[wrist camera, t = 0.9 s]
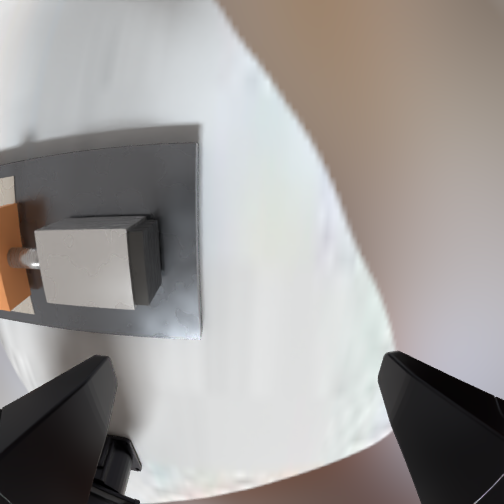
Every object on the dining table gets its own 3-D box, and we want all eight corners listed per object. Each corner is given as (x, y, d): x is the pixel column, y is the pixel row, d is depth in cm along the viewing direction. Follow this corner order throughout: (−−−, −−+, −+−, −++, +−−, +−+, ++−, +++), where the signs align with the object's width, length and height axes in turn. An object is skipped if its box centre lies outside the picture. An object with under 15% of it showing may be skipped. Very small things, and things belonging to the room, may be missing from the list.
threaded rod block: (162, 284, 19) (148, 310, 15) (32, 278, 18) (5, 297, 15) (158, 215, 17) (140, 228, 14) (23, 220, 17) (-8, 232, 13)
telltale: (31, 294, 18) (10, 311, 15) (21, 293, 18) (-1, 309, 15) (17, 203, 16) (-9, 210, 13) (6, 204, 16) (-19, 211, 13)
